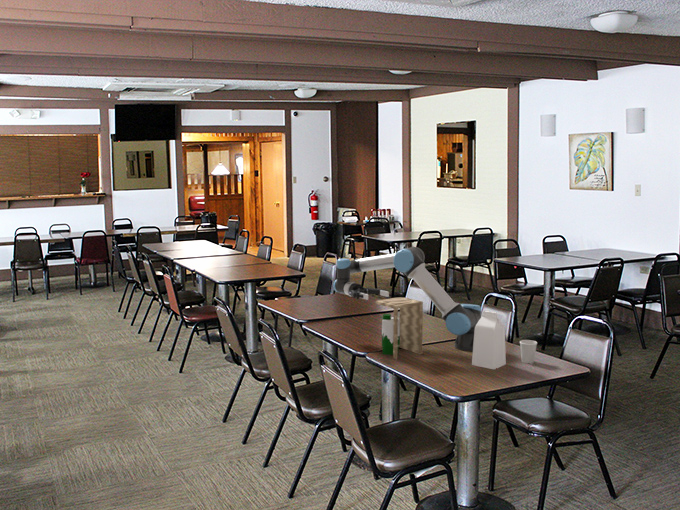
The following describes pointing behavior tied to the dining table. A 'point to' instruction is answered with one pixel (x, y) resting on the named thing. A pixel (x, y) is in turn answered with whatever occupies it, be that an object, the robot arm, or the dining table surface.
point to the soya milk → (388, 334)
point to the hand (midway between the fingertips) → (378, 295)
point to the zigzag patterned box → (406, 323)
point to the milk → (489, 342)
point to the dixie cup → (528, 350)
